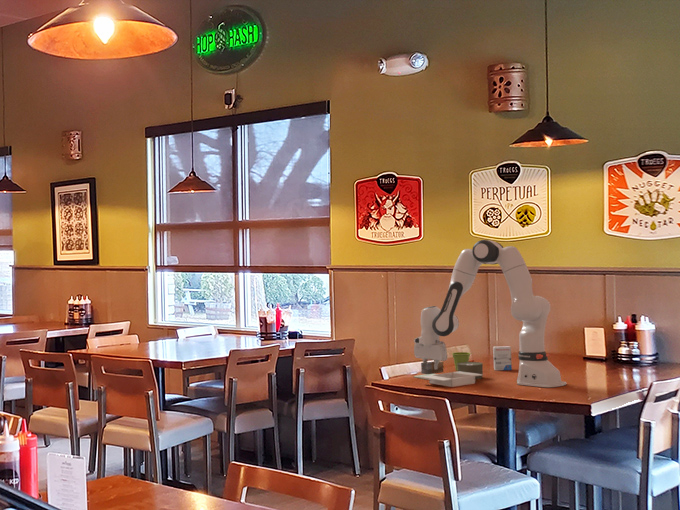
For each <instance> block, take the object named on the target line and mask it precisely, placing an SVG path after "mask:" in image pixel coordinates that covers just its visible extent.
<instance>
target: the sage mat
mask: <svg viewBox="0 0 680 510" xmlns="http://www.w3.org/2000/svg"><path fill="white" fill-rule="evenodd" d="M436 374H437V373H435V374H420V375H413V378H416V379H421V380H428V381H429V379H427V378H421V377H422V376H429V375H436Z"/></svg>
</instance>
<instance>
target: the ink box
mask: <svg viewBox="0 0 680 510" xmlns="http://www.w3.org/2000/svg"><path fill="white" fill-rule="evenodd" d="M492 351H493V352H492V353H493V357H492V358H493V369H494V371H512V370H513V369H512V368H513V367H512V347H511V346H509V345H508V346H507V345H504V346H502V345H501V346H492Z"/></svg>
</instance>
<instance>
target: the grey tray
mask: <svg viewBox="0 0 680 510" xmlns="http://www.w3.org/2000/svg"><path fill="white" fill-rule="evenodd" d="M435 374H436V375H429V376H422V377H421V378H427V379H429V380H428V383H429V384H432V385H438V386H444V387H450V388H452V387H453V388H454V387H460V386H466V385H473V384H476V379H475V376H482V375H483V376H484V374H477V373H470V372H461V371H453V372H443V373H435ZM421 378H420V379H421ZM427 379H426V380H427Z"/></svg>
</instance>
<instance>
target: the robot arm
mask: <svg viewBox="0 0 680 510" xmlns="http://www.w3.org/2000/svg"><path fill="white" fill-rule="evenodd" d="M497 264H498V265H499V267H500V269H501V271H502V274H503V276H504V278H505V281H506V284H507V287H508V289H509V292H510V293H509V294H510V299H511V305H510V313H511V316H512V317H513V318H514V319H515V320H516V321H520V322H522V326H521V330H520V331H519V334H518V337H519V338H518V339H519V340H518V342H519V351H518V356H517V357H518V360H519V365H518V375H517V378H516V379H517V380H516V383H517V386H518V385H519V386H529V387H531V386H532V387H537V388H538V387H539V388H557V387H562V386H566V385H567V381H563V380H562V378H561V372H560V370H559V369H558V368H557V367H556V366H554V365H553V363H552V362H551V361H550V360H548V359H549V358H548V357H549V356H550V353H547V352H546V350H545V333H546V325H547V321H548V320H547V319H548V316H549V314H550V312H551V309H552V307H551V303H550V301H549V300H548V299H547V298H546V297H543V296H540V295H535V294H534V292H533V278H532V275H531V273H530V271H529V269H528V266H527V263H526V262H525V259H524V258H523V255H522V253H520V251H519V250H518V248H517V247H515V246H513V245H510V246H505V247H504V246H503V245H502V244H501V243H499V242H496V241H494V240H491V239H490V240H489V239H481V240H478V241H477V242H475V244H474V245H473V246H472V248H464V249H463V250H461V252H460V254H459V255H458V258H457V259H456V261H455V264H454V267H453V270H452V272H451V277H450V282H449V286H448V289H447V293H446V297H445V299H444V302H443V304H442V306H441V309H440V308H439V307H438V306H437V305H432V306H427V307H424V308H422V309H421V313H420V328H421V331H420V336H418V337H415V338H413V343H414V345H413V353H414V354H413V355H414V357H415V358H417V359H422V363H424V362H429V361H428V360H431V361H432V360H433V362H435V364H434V366H433V369H435V370H436V369H438V364H439V361H440V362H443V361H447V360H448V351H447V346H446V343H445V342H444V341H443V340H441V341H440V337H447V336H449V335H450V334H452V333H453V332H455V331H457V329H458V328H459V326H460V321H459V318H458V316H457V315H456V314H455V312H456V310H457V307H458V305H459V302H460V300H461V298H462V297H463V295H465V294H466V292H468V291H469V290H470V289H471V288H472V286H473V284H474V281H475V280H476V276H477V274H478V271H479V268H480V267H481V266H482V265H497Z"/></svg>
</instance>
